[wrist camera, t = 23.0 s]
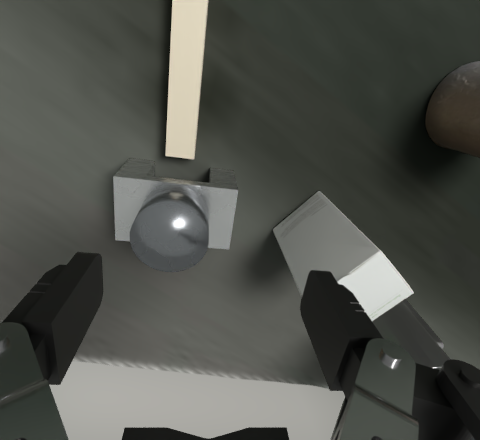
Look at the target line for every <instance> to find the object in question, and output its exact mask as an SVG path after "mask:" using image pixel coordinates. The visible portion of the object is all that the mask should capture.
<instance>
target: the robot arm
mask: <svg viewBox="0 0 480 440" xmlns="http://www.w3.org/2000/svg"><path fill="white" fill-rule="evenodd" d="M102 296H103V273H102V257H101V255H100V254H97V253H83V252H77V253H76V254H75V255H74V257H73V258H72V259H71V260H70V262H69V263H68V264H67V265H58V266H56V267H55V268H53V269H51V270H50V271H48V272H46V273H45V274H44V275H43V276H42V278H41V279H40V280H39V281H38V282H37V285H36V284H35V286H34V287H33V288H32V289H31V290H30V293H28V294H27V295H26V296H25V297H24V298H23V299H22V300H21V302H20V303H19V304H18V305H17V306H16V307H15V308H14V310H13V311H12V312H11V313H10V314H9V315H8V316H7V318H6V319H5V320H4V321H3V322H2V323H0V440H68V437H67V434H66V431H65V428H64V426H63V423H62V420H61V417H60V414H59V411H58V409H57V406H56V403H55V400H54V397H53V394H52V392H51V389H50V386H49V384H51V385H55V384H56V385H59V384H61V381H62V380H63V378H64V376H65V374H66V372H67V370H68V368H69V366H70V364H71V362H72V360H73V358H74V356H75V354H76V352H77V350H78V348H79V346H80V344H81V342H82V340H83V338H84V336H85V334H86V332H87V330H88V328H89V326H90V324H91V322H92V320H93V318H94V316H95V314H96V312H97V310H98V308H99V306H100V304H101V301H102ZM300 310H301V316H302V319H303V322H304V324H305V327H306V329H307V332H308V335H309V337H310V340H311V342H312V345H313V347H314V350H315V353H316V355H317V358H318V360H319V363H320V366H321V368H322V371H323V373H324V376H325V378H326V381H327V384H328V386H329V389H330V390H331V391H343V392H344V394H345V399H344V401H343V404H342V407H341V410H340V413H339V416H338V419H337V422H336V425H335V428H334V431H333V434H332V437H331V440H480V370H479V369H477V368H476V367H474V366H472V365H470V364H468V363H466V362H463V361H459V360H451V359H450V358H449V357H448V356H447V354H446V353H445V352H444V351H443V350H442V349H443V347H444V344H443V342H442V341H441V340H440V338H439V337H438V336H437V335H436V334H435V333H434V331H433V330H432V329H431V328H430V327H429V326H428V324H427V323H426V322H425V321H424V320H423V319H422V317H421V316H420V315H419V314H418V313H417V312H416V310H415V309H414V308H413V307H412V306H411V305H410V303H409V302H408V301H407V300H406V299H404V300H403V301H401V302H400V303H398V304H397V305H395V306H394V307H392V308H391V309H389V310H388V311H386V312H385V313H383V314H382V315H380V316H379V317H378V318H376V319H375V320H373V321H371V319H370V318H369V316H368V315H367V313H366V312H364V311H365V310H364V309H363V307H362V306H361V304H359V301H358V300H357V298H356V297H355V296H354V294H353V293H352V292H351V291H350V290H348V289H347V288H346V287H345V286H344V285H341V284H338V282H337V281H336V279H335V278H334V276H333V274H332V273H331V272H330V271H319V270H311V271H310V272H309V274H308V277H307V281H306V285H305V288H304V292H303V296H302V299H301V305H300ZM122 440H289V437H288V432H287V428H246V429H243V430H240V431H236V432H232V433H229V434H225V435H222V436H218V437H215V438H211V439H206V438H201V437H198V436H195V435H191V434H187V433H184V432H180V431H177V430H173V429H170V428H125V429H124V433H123V437H122Z"/></svg>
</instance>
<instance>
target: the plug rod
mask: <svg viewBox="0 0 480 440" xmlns="http://www.w3.org/2000/svg"><path fill="white" fill-rule="evenodd" d="M208 1H209V0H172V21H171V43H170V65H169V87H168V110H167V132H166V154H165V156H170V157H178V158H186V159H194V157H195V149H196V138H197V126H198V115H199V104H200V92H201V81H202V69H203V58H204V47H205V35H206V24H207V12H208Z"/></svg>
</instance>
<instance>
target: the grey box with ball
mask: <svg viewBox="0 0 480 440" xmlns="http://www.w3.org/2000/svg"><path fill="white" fill-rule="evenodd" d="M113 183H114V213H115V240H119V241H130V244H131V247H132V249H133V251H134V253H135V255H136V256H137V257H138V258H139V259H140V260H141V261H142V262H143V263H144V264H146V265H148V266H149V267H151V268H153V269H156V270H160V271H165V272H178V271H183V270H186V269H188V268H190V267H192V266H194V265H195V264H197V263H198V262H199V261H200V260H201V259H202V258H203V256H204V255H205V253H206V251H207V248H218V249H229V246H230V240H231V234H232V227H233V221H234V214H235V208H236V201H237V195H238V187H237V183H236V178H235V174H234V170H226V169H218V168H210V175H209V183H206V182H197V181H188V180H179V179H170V178H161V177H155V161H151V160H143V159H134V158H130V159H129V160H128V161H127V162H126V163H125V164H124V165H123V166H122V167H121V168H120V170H119V171H118V172H117V173H116V174H115V175H114V176H113Z"/></svg>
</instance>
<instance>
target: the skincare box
mask: <svg viewBox="0 0 480 440" xmlns="http://www.w3.org/2000/svg"><path fill="white" fill-rule="evenodd" d="M273 232H274V234H275V237H276V239H277V241H278V243H279V246H280V248H281V250H282V253H283V255H284V257H285V260H286V262H287V264H288V267H289V269H290V271H291V274H292V276H293V278H294V281H295V283H296V285H297V287H298V290H299V292H300V295H301V297H302V296H303V292H304V288H305V285H306V281H307V277H308V274H309V272H310V271H311V270H319V271H330V272H331V273H332V274H333V276H334V278H335V279H336V281H337V282H338V284H341V285H344V286H345V287H346V288H347V289H348V290H350V291H351V292H352V293H353V294H354V296H355V297H356V298H357V300H358V301H359V304H361V306H362V307H363V309H364V310H365V311H364V312H366V313H367V315H368V316H369V318H370V319H371V321H373V320H375V319H376V318H378V317H379V316H380V315H382V314H383V313H385V312H386V311H388V310H389V309H391V308H392V307H394V306H395V305H397V304H398V303H400V302H401V301H403V300H404V299H405V298H407V297H409V296H410V295H411V294H413V293H414V292H413V291H412V289H411V288H410V286H409V285H408V284H407V282H406V281H405V280H404V278H403V277H402V276H401V275H400V273H399V272H398V271H397V270H396V268H395V267H394V266H393V265H392V263H391V262H390V261H389V260H388V259H387V257H386V256H385V255H384V254H383V253H382V251H381V250H380V249H379V248H377V247H376V246H375V245H374V244H373V243H372V242H371V241H370V240H369V239H368V238H367V237H366V236H365V235H364V234H363V233H362V232H361V231H360V230H359V229H358V228H357V227H356V226H355V225H354V224H353V223H352V222H351V221H350V220H349V219H348V218H347V217H346V216H345V215H344V214H343V213H342V212H341V211H340V210H339V209H338V208H337V207H336V206H335V205H334V204H333V203H332V202H331V201H329V200H328V199H327V198H326V197H325V196H324V195H323V194H322V193H321V192H320V191H318V192H317V193H315V194H314V195H313V196H312V197H311V198H309V199H308V200H307V201H306V202H305V203H303V204H302V205H301V206H300V207H299V208H297V209H296V210H295V211H294V212H293V213H291V214H290V215H289V216H288V217H287V218H286V219H284V220H283V221H282V222H281V223H280V224H278V225H277V226H276V227H275V228H274V229H273Z"/></svg>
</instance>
